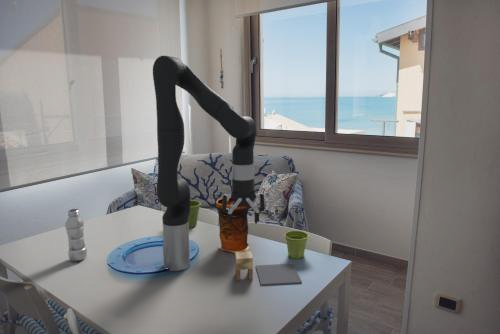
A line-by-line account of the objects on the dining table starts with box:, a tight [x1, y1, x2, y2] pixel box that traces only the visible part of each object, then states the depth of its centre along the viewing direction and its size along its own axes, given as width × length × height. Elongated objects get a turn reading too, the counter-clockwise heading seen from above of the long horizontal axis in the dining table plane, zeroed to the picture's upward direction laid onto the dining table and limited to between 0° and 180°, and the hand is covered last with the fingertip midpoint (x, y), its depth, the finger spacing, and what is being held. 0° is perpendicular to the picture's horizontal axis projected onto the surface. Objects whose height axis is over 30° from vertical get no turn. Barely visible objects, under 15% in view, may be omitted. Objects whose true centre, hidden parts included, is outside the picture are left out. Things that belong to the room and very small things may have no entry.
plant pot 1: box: [188, 199, 202, 229], centre depth 182 cm, size 12×12×11 cm
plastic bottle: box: [64, 208, 88, 262], centre depth 144 cm, size 6×7×20 cm
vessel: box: [215, 197, 251, 254], centre depth 156 cm, size 14×14×20 cm
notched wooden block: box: [234, 251, 254, 282], centre depth 131 cm, size 6×6×8 cm
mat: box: [255, 263, 303, 286], centre depth 133 cm, size 14×14×1 cm
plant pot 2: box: [283, 230, 310, 259], centre depth 148 cm, size 9×9×9 cm
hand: (243, 223), depth 128 cm, fingers open, 8 cm apart
